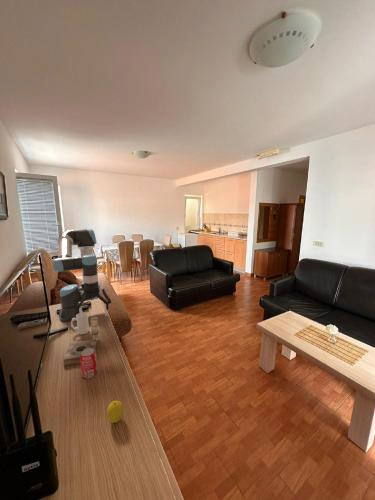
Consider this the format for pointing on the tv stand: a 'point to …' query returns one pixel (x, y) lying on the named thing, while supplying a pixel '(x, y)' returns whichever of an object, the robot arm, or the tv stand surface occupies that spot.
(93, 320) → the leg peg
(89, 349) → the soda can
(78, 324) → the mug
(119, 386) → the tv stand surface
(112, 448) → the tv stand surface
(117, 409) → the lemon
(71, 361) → the beige flat square block
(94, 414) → the tv stand surface
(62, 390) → the tv stand surface
